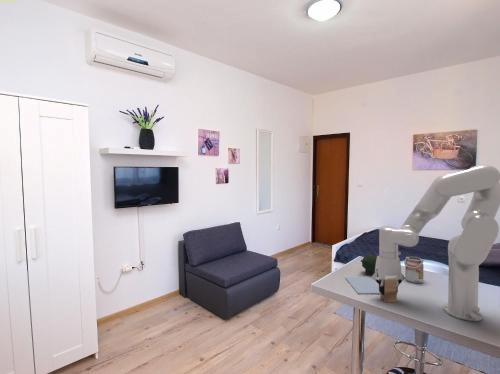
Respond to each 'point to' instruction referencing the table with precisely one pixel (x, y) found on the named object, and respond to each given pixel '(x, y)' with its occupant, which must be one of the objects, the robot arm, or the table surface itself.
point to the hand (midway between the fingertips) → (388, 293)
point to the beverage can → (414, 269)
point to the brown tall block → (390, 289)
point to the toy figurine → (369, 263)
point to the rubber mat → (363, 285)
